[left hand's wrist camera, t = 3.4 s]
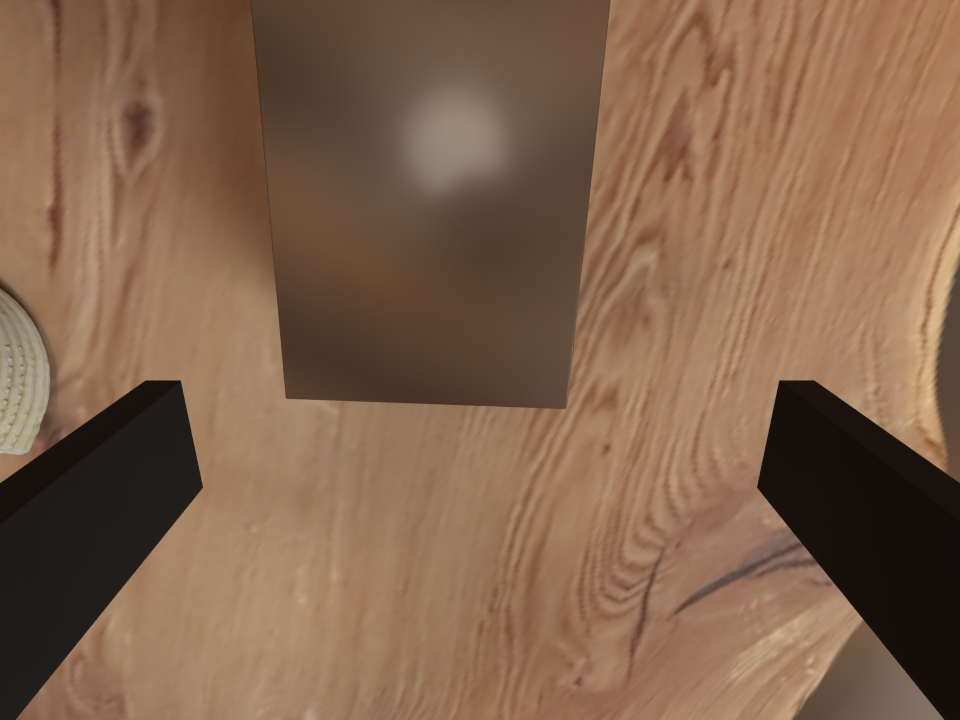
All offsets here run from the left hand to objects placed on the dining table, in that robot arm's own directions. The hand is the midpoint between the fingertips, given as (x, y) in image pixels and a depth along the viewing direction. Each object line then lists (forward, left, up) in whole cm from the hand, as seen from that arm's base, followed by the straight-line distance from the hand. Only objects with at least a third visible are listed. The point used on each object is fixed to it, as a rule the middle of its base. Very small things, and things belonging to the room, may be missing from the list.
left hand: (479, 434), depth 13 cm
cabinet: (-2, +6, -16) cm, 17 cm away
